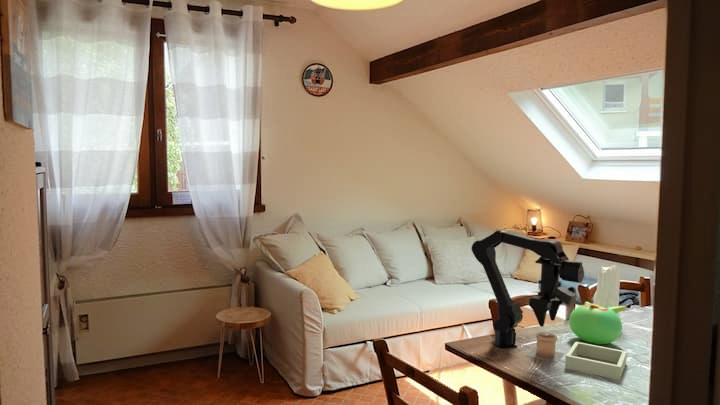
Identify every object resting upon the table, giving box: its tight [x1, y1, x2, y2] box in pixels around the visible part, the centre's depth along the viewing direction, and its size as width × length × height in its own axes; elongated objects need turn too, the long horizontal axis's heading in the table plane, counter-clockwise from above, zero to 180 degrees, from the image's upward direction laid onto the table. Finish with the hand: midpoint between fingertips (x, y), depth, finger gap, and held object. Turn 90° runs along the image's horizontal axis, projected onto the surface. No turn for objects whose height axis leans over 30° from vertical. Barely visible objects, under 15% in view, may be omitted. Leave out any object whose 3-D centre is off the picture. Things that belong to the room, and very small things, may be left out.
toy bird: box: [568, 301, 628, 345], centre depth 202 cm, size 18×17×15 cm
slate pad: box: [526, 347, 565, 364], centre depth 187 cm, size 10×10×1 cm
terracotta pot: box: [535, 331, 558, 358], centre depth 187 cm, size 7×7×7 cm
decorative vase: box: [592, 264, 621, 319], centre depth 224 cm, size 11×11×25 cm
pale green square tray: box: [564, 341, 628, 381], centre depth 179 cm, size 16×16×4 cm
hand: (547, 323), depth 186 cm, fingers open, 9 cm apart
